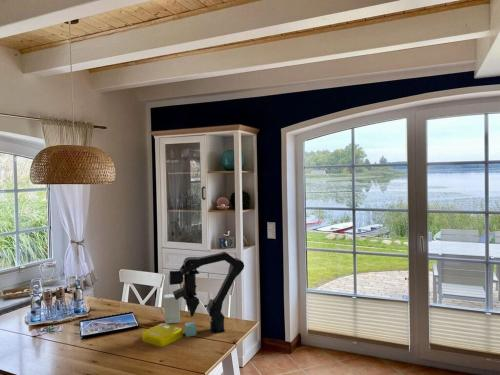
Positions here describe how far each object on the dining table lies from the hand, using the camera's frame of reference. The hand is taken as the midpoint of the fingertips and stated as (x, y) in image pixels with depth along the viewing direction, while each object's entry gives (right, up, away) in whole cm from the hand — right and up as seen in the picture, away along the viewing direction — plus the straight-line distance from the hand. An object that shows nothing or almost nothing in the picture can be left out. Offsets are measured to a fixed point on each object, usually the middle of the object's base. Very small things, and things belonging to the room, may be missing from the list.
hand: (190, 313), depth 192 cm
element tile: (-13, -11, -4) cm, 18 cm away
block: (0, -11, 0) cm, 11 cm away
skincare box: (-13, -11, +17) cm, 24 cm away
